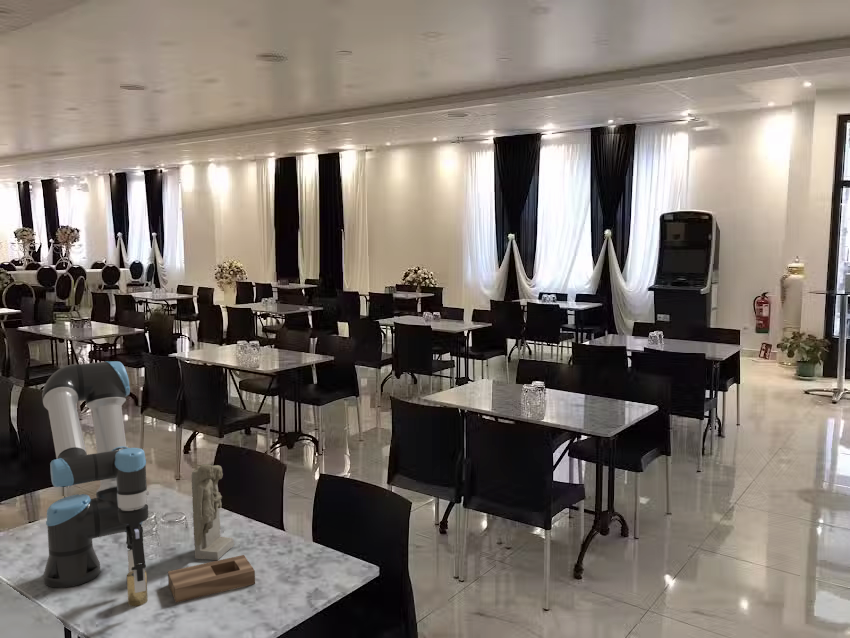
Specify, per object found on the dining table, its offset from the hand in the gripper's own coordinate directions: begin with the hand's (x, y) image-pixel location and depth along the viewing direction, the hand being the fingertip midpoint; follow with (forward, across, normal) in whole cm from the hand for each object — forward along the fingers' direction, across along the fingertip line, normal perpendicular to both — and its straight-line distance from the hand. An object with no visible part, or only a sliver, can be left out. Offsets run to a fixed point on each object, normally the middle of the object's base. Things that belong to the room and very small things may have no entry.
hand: (137, 581), depth 192 cm
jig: (+6, +1, -20) cm, 21 cm away
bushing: (+6, +1, 0) cm, 6 cm away
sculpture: (+6, +22, -25) cm, 34 cm away
